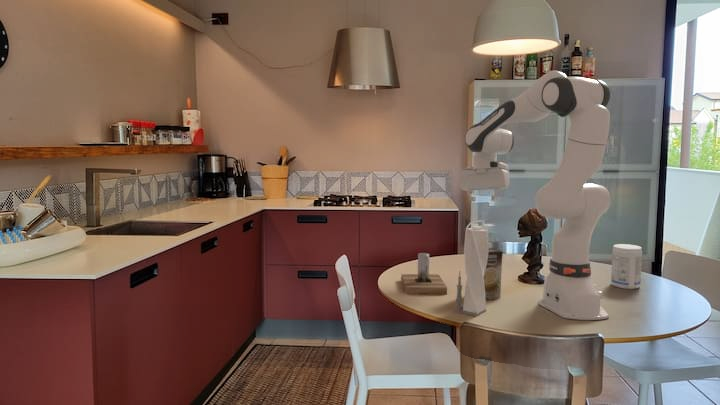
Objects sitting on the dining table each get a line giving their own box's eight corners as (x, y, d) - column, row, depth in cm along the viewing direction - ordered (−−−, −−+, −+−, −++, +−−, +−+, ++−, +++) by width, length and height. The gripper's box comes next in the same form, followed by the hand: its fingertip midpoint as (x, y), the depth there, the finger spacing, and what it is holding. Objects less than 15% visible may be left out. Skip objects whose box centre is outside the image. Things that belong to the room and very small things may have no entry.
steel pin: (429, 288, 186) (430, 255, 184) (418, 288, 186) (418, 255, 184) (427, 285, 190) (428, 253, 188) (416, 285, 190) (417, 253, 188)
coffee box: (477, 300, 172) (478, 252, 170) (467, 295, 178) (468, 249, 176) (501, 298, 174) (502, 251, 173) (490, 293, 180) (492, 247, 179)
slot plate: (446, 294, 179) (447, 287, 179) (406, 294, 179) (406, 287, 178) (438, 280, 197) (438, 274, 196) (401, 280, 197) (401, 274, 196)
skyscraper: (467, 305, 167) (470, 218, 164) (491, 310, 162) (494, 221, 158) (454, 311, 160) (457, 221, 157) (478, 317, 155) (481, 224, 152)
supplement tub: (631, 282, 195) (633, 243, 194) (645, 289, 186) (648, 248, 184) (605, 282, 195) (607, 243, 193) (618, 289, 186) (621, 248, 184)
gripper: (457, 166, 209) (455, 200, 207) (504, 162, 195) (502, 199, 193) (466, 169, 213) (464, 202, 212) (512, 165, 199) (511, 201, 198)
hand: (483, 201), depth 202 cm, fingers open, 8 cm apart
